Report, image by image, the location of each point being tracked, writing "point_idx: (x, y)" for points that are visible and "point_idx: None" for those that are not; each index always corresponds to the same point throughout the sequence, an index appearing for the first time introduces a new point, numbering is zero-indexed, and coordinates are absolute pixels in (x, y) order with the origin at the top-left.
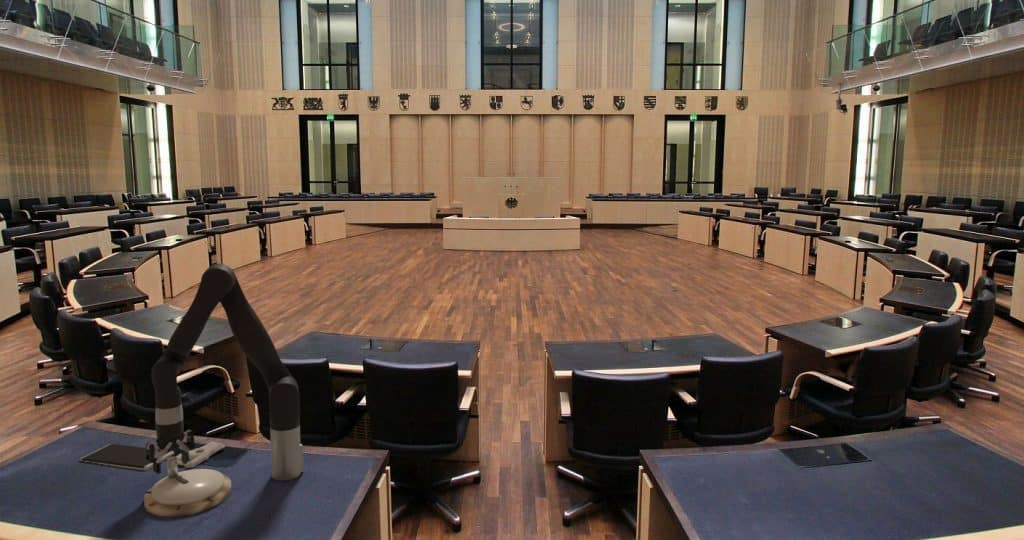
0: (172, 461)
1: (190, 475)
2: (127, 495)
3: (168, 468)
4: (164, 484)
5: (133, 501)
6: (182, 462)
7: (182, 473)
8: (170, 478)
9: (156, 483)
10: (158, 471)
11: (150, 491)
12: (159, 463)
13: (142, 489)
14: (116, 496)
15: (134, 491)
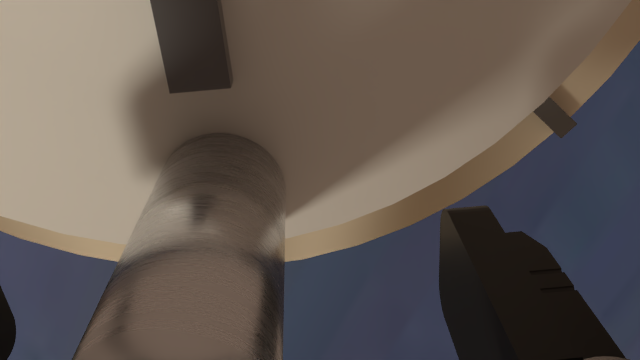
0: (204, 313)
1: (13, 34)
2: None
3: (281, 265)
4: (416, 44)
5: (617, 149)
6: (9, 325)
7: (94, 181)
8: (273, 159)
9: (461, 156)
10: (496, 233)
11: None
12: (543, 344)
13: (439, 298)
14: (621, 325)
15: None
